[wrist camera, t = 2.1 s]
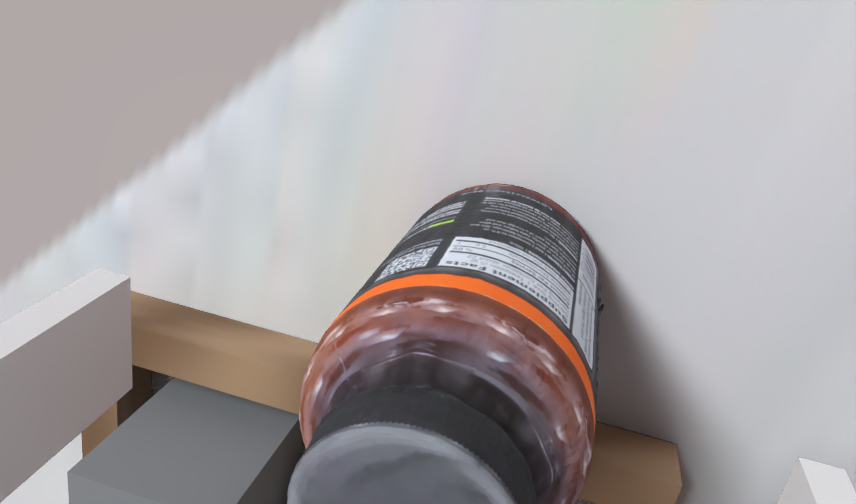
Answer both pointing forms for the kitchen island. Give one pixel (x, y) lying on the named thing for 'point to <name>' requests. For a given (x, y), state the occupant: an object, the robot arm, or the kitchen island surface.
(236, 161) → the kitchen island surface
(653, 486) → the brown wooden frame
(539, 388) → the supplement bottle
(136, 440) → the block
